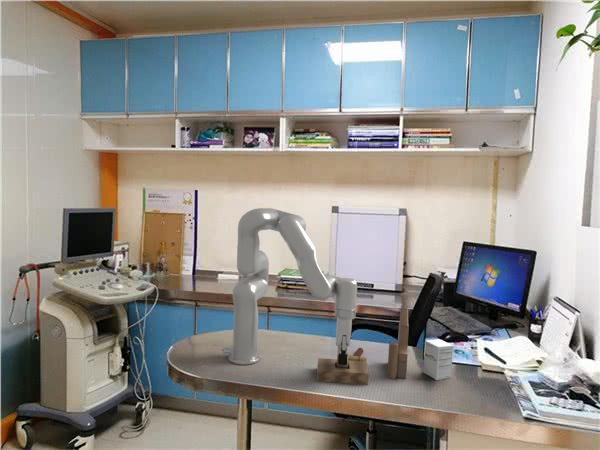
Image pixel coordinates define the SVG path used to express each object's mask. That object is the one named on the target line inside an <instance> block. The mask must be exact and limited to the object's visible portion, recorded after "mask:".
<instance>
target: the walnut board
mask: <svg viewBox="0 0 600 450" xmlns="http://www.w3.org/2000/svg"><path fill="white" fill-rule="evenodd" d="M316 369H317V370H316V382H326V383H327V382H328V383H338V384H339V383H340V384H353V385H363V386H364V385H366V386H369V376H370V375H369V369H368V365H367V361H366V362H364V361H350V360H348V369H343V368H337V358H336V359H334V358H323V357H321V358H320V357H318V358H317V368H316Z"/></svg>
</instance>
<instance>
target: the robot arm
mask: <svg viewBox="0 0 600 450" xmlns="http://www.w3.org/2000/svg"><path fill="white" fill-rule="evenodd" d="M267 230H271V231H275V232H279V234H280V237H282V239H283V241H284V243H286V245H287V248H288V249H289V250H290V251H291V254H292V255H293V257H294V259H295V261H296V265H297V268H298V271H299V274H300V277H301V279H302V281H303V282H304V285H305V286H306V288H307V289H308V290H309V291H308V292H310V294H311V295H312V296H313V297H314V298H316V299H317V300H321V301H323V300H327V299H328V298H330V297H332V296H335V301H334V317H335V318H336V323H335V324H336V328H335V345H336V347H338V345H340V350H339V355H338V364H339V365H347V356H348V355H349V354H347V347H348V346H349V347H350V346H351V338H352V325H353V323H352V321H353V320H354V319H355V318H356V313H357V311H356V309H357V294H358V282H357V280H356V279H354V278H352V277H339V276H335V275H333V274H332V275H331V274H325V275H324V274H323V272H322V270H321V269H320V266H319V265H318V260H317V249H316V246H315V244H314V242H313V241H312V240H311V238H310V236H309V234H308V233H307V231H306V230H307V223H306V221H305V219H304V218H303V217H302V216H300V215H297V214H294V213H290V212H287V211H282V210H279V209H275V208H271V207H269V208H268V207H265V208H264V207H260V208H259V207H258V208H254V209H251V210H248V211H246V212H245V213H244V214H242V216H241V217H240V219H239V221H238V224H237V246H236V247H237V248H236V249H237V250H236V251H237V252H236V269H237V273H239V275H241V276H243V277H246V278H245V279H242V280H240V281H238V282H237V283H236V284H235V286H234V287H233V289H232V303H233V330H232V331H233V333H232V345H230V346H225V345H223V346H222V348H221V351H222V352H223V354H228V359H227V360H228V361H229V362H230V363H232V364H236V365H242V366H243V365H246V366H247V365H252V364H255V363H258V362H259V361H260V360H261V354H260V353H259V352H258V331H259V307H258V300H260V299H262V298H263V297H265V295H266V294H267V292H268V289H269V272H270V271H269V267H270V266H269V265H270V263H269V259H268V256H267V254H266V252H264V251H263V250H261V249H260V245H261V244H260V235H259V232H262V231H267ZM341 344H342V345H341ZM341 347H342V348H341Z"/></svg>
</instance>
